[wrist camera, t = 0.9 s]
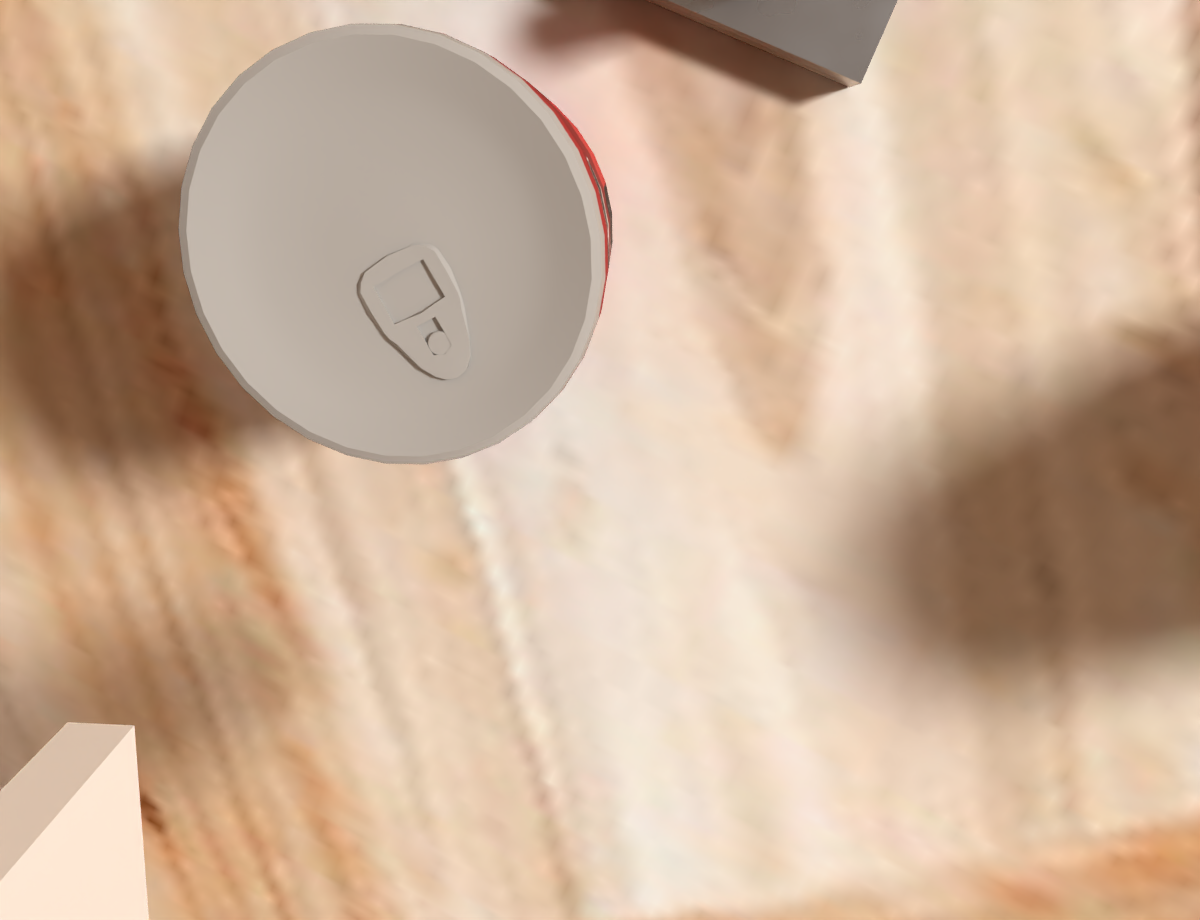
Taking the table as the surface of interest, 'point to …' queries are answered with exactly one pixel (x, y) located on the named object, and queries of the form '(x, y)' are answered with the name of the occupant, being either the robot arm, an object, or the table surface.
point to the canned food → (394, 242)
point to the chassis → (800, 30)
